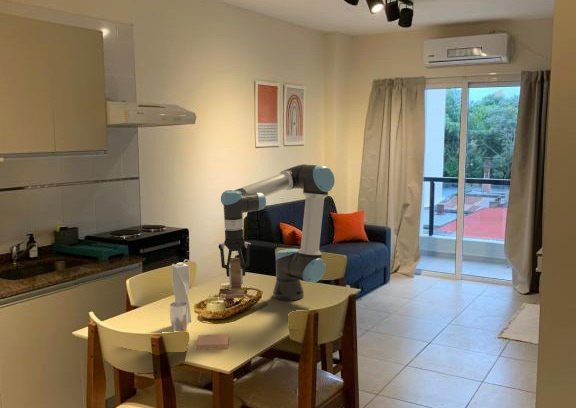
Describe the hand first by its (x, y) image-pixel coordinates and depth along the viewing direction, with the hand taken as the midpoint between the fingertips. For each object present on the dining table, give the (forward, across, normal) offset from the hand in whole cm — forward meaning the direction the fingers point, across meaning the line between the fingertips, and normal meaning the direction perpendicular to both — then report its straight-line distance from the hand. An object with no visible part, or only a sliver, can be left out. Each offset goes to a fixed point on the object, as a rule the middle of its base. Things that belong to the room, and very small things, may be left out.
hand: (236, 283), depth 234 cm
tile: (+17, -9, -15) cm, 24 cm away
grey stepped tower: (+2, 0, -6) cm, 6 cm away
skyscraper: (+18, -23, +3) cm, 29 cm away
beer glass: (+18, -22, -16) cm, 33 cm away
